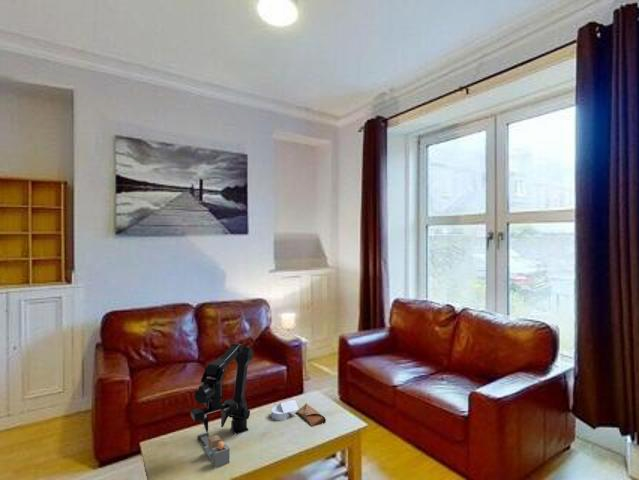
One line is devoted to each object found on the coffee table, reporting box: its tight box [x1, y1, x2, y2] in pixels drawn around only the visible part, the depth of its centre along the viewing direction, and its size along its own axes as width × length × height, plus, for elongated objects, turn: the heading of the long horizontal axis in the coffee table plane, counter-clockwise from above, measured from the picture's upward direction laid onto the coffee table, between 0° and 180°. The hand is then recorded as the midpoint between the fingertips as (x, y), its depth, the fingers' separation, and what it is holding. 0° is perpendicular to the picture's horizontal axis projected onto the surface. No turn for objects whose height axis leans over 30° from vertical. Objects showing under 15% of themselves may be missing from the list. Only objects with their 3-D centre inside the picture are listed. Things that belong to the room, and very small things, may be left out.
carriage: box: [204, 434, 222, 460], centre depth 159 cm, size 6×6×7 cm
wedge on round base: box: [271, 399, 300, 421], centre depth 194 cm, size 9×7×13 cm
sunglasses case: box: [294, 403, 327, 428], centre depth 192 cm, size 18×7×7 cm
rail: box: [196, 431, 210, 448], centre depth 164 cm, size 5×20×2 cm, turn 36°
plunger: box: [218, 440, 224, 451], centre depth 153 cm, size 2×2×3 cm
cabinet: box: [211, 443, 231, 469], centre depth 153 cm, size 6×4×6 cm, turn 126°
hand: (214, 429), depth 159 cm, fingers open, 6 cm apart
